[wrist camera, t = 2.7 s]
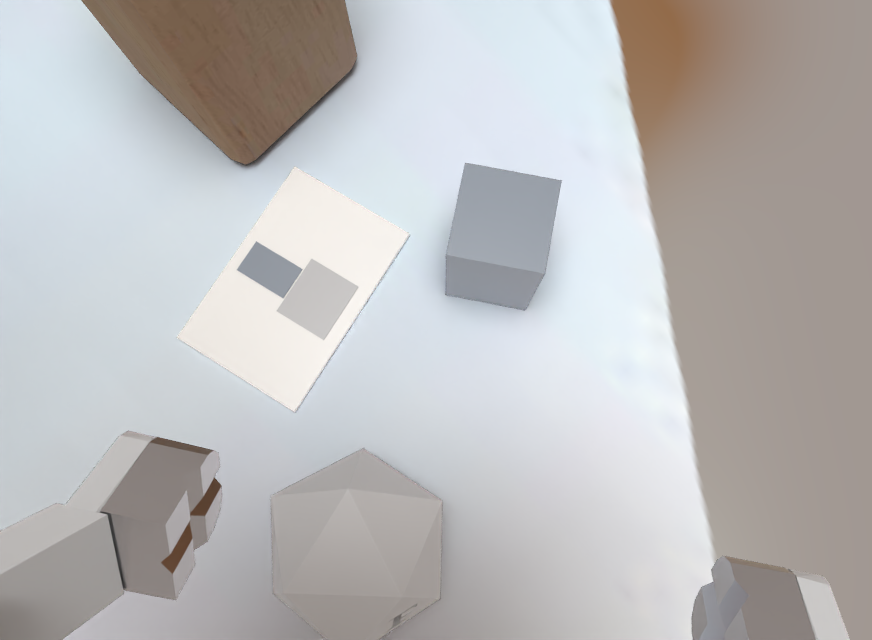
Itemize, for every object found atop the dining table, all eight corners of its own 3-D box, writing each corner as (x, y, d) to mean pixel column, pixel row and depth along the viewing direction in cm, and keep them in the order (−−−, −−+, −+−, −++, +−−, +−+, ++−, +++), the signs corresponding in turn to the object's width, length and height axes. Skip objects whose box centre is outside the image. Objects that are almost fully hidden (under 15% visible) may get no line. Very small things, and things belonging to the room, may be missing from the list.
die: (275, 613, 37) (346, 731, 29) (219, 477, 35) (280, 565, 26) (405, 536, 41) (501, 622, 33) (363, 407, 38) (457, 465, 30)
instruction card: (295, 412, 39) (293, 412, 38) (178, 338, 40) (175, 337, 39) (410, 235, 41) (409, 232, 40) (295, 168, 41) (294, 165, 41)
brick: (525, 310, 40) (544, 273, 32) (445, 294, 40) (446, 254, 32) (539, 234, 40) (561, 180, 33) (461, 219, 41) (465, 162, 33)
